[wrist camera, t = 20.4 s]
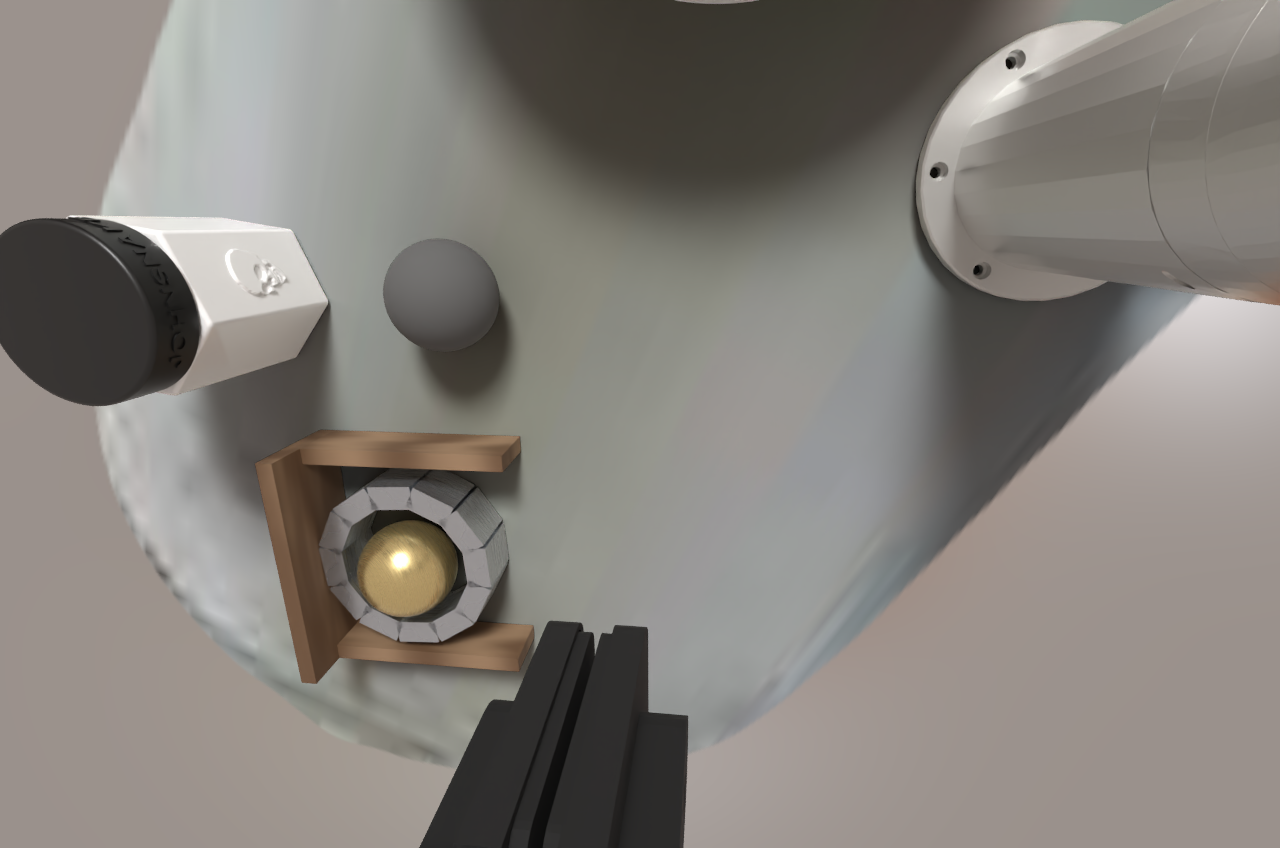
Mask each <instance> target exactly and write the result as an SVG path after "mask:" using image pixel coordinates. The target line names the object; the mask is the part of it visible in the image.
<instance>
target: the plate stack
mask: <svg viewBox="0 0 1280 848" xmlns="http://www.w3.org/2000/svg"><path fill="white" fill-rule="evenodd" d="M676 1H682V2H690V3H702V4H730V3H743V2H751V1H757V0H676Z"/></svg>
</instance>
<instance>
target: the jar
mask: <svg viewBox="0 0 1280 848" xmlns="http://www.w3.org/2000/svg"><path fill="white" fill-rule="evenodd" d="M327 305H328V299H327V297H326V295H325V293H324V291H323V290H322V288H321V286H320V284H319V282H318V280H317V278H316V276H315V274H314V272H313V270H312V268H311V266H310V264H309V262H308V260H307V258H306V256H305V254H304V252H303V250H302V248H301V246H300V244H299V242H298V240H297V239H296V237H295V235H294V233H293V231H292V230H290V229H285V228H279V227H273V226H267V225H261V224H255V223H249V222H244V221H238V220H232V219H226V218H205V217H140V216H78V215H77V216H76V215H71V216H68V217H67V218H66V219H53V218H50V219H49V218H42V219H32V220H27V221H23V222H20V223H18V224H15V225H13V226H12V227H10V228H8V229H7V230H5V231H4V232H3V233H2V234H1V235H0V344H1V345H2V347H3V349H4V350H5V351H6V353H7V354H8V355H9V357H10V358H11V359H12V361H13V362H14V363H15V364H16V365H17V366H18V367H19V368H20V370H21V371H22V372H24V373H25V374H26V375H27V376H28V377H29V378H30V379H32V380H33V381H34V382H35V383H36V384H38V385H39V386H41V387H42V388H44V389H45V390H47V391H49V392H50V393H52V394H54V395H56V396H58V397H60V398H63V399H65V400H68V401H71V402H74V403H78V404H82V405H89V406H107V405H113V404H117V403H121V402H124V401H127V400H131V399H134V398H138V397H141V396H144V395H148V394H151V393H154V392H158V393H163V394H168V395H179V394H182V393H185V392H188V391H192V390H195V389H198V388H201V387H204V386H208V385H211V384H214V383H217V382H220V381H224V380H227V379H230V378H233V377H236V376H239V375H243V374H246V373H249V372H252V371H255V370H259V369H262V368H265V367H268V366H271V365H274V364H278V363H281V362H284V361H287V360H290V359H294V358H296V357H297V355H298V354H299V352H300V350H301V349H302V347H303V345H304V344H305V342H306V340H307V339H308V337H309V335H310V334H311V332H312V330H313V328H314V327H315V325H316V323H317V322H318V320H319V318H320V317H321V315H322V313H323V312H324V310H325V308H326V307H327Z"/></svg>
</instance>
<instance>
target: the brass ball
mask: <svg viewBox="0 0 1280 848" xmlns="http://www.w3.org/2000/svg"><path fill="white" fill-rule="evenodd" d="M457 571H458V558H457V553H456V550H455V547H454V545H453V543H452V542H451V540H450V539H449V537H448V536H447V535H446V534H445V533H444V532H443V531H442V530H440V529H439V528H438V527H436V526H434V525H432V524H430V523H427V522H423V521H418V520H406V521H400V522H396V523H393V524H390V525H388V526H386V527H384V528H383V529H381V530H380V531H378V532H377V533H376V534H375V535H374V536H373V537H372V538H371V539H370V540H369V541H368V542H367V544H366V545H365V547H364V548H363V550H362V553H361V555H360V557H359V561H358V566H357V578H358V584H359V587H360V590H361V592H362V594H363V596H364V597H365V598H366V600H367V601H368V602H369V603H370V604H371V605H372V606H373V607H374V608H376V609H377V610H379V611H381V612H383V613H385V614H388V615H391V616H396V617H411V616H416V615H420V614H422V613H425V612H427V611H429V610H431V609H433V608H434V607H435V606H437V605H438V604H439V603H440V602H442V601H443V600H444V598H445V597H446V596H447V595H448V593H449V592H450V590H451V589H452V587H453V585H454V582H455V580H456V576H457Z"/></svg>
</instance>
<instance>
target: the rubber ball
mask: <svg viewBox="0 0 1280 848" xmlns="http://www.w3.org/2000/svg"><path fill="white" fill-rule="evenodd" d="M383 296H384V303H385V307H386V310H387V313H388V315H389V317H390V319H391V321H392V323H393V324H394V326H395V327H396V328H397V329H398V331H399V332H400V333H401V334H402V335H404V336H405V337H406V338H407V339H408V340H410V341H411V342H413V343H414V344H416V345H418V346H420V347H423V348H426V349H429V350H433V351H441V352H448V351H456V350H461V349H464V348H466V347H469V346H471V345H473V344H474V343H476V342H477V341H479V340H480V339H481V338H482V337H483V336H485V335H486V333H487V332H488V331H489V330H490V328H491V327H492V325H493V323H494V321H495V319H496V316H497V313H498V309H499V289H498V284H497V281H496V278H495V276H494V274H493V272H492V270H491V268H490V267H489V265H488V264H487V263H486V261H485V260H484V259H483V258H482V257H481V256H480V255H479V254H478V253H477V252H475V251H474V250H472V249H471V248H469V247H467V246H465V245H463V244H461V243H459V242H456V241H452V240H447V239H428V240H424V241H420V242H417V243H415V244H413V245H411V246H409V247H407V248H406V249H404V250H403V251H402V252H401V253H400V254H399V255H398V256H397V257H396V258H395V259H394V260H393V262H392V263H391V265H390V267H389V269H388V271H387V274H386V277H385V281H384V288H383Z"/></svg>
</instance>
